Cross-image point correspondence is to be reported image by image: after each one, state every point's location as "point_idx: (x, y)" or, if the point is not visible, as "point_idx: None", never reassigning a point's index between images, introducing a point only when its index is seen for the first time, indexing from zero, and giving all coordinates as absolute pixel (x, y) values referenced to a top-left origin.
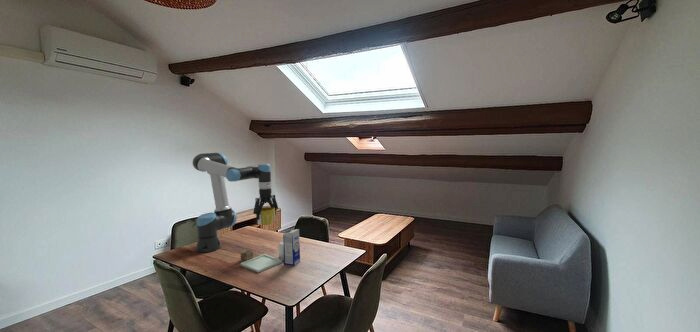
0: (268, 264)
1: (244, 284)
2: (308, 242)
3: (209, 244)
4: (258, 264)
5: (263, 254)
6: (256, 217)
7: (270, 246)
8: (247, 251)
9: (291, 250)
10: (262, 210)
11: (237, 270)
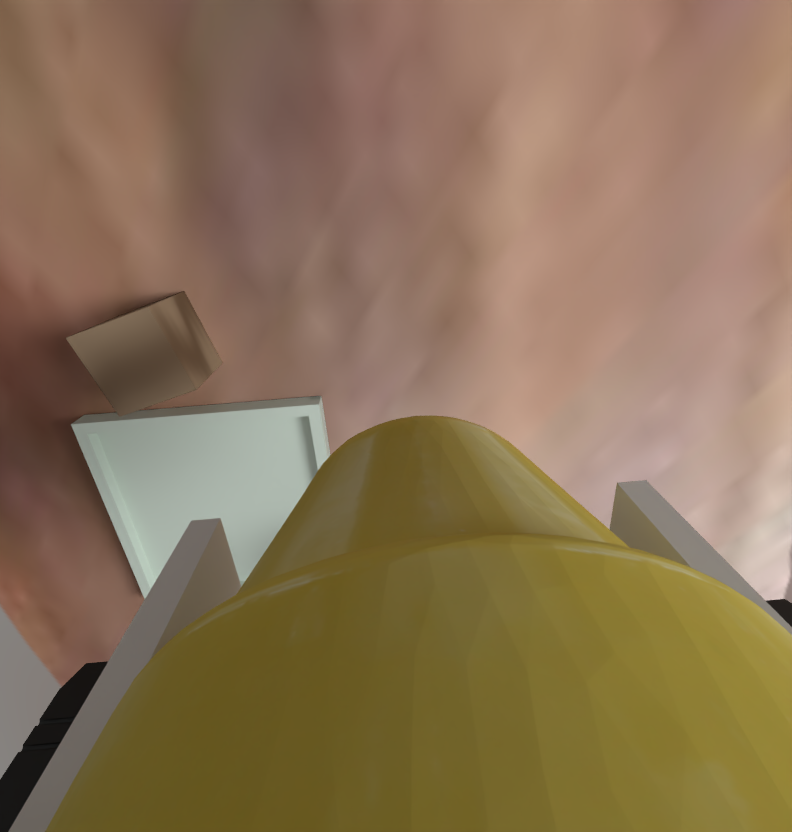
0: (253, 556)
1: (39, 641)
2: (764, 429)
3: None
4: (197, 511)
5: (305, 409)
6: (26, 741)
7: (511, 215)
8: (143, 365)
9: None
10: (536, 691)
11: (40, 469)
